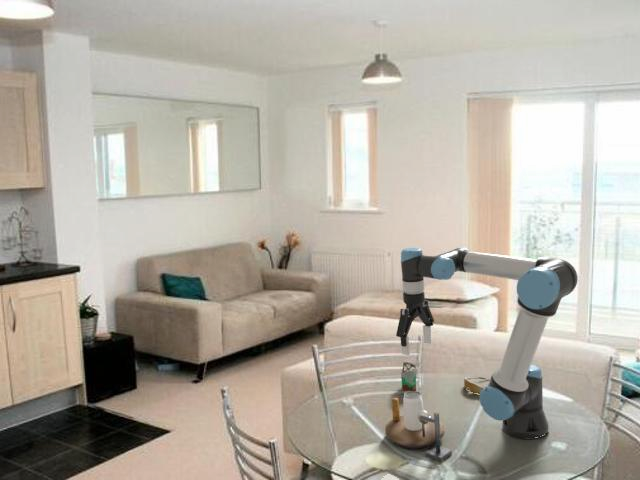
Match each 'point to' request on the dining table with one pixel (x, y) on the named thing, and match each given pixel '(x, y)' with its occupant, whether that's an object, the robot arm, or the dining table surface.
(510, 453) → the dining table surface
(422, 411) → the dial indicator stand
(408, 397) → the can
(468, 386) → the sunglasses
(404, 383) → the food container
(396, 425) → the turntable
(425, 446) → the turntable base
